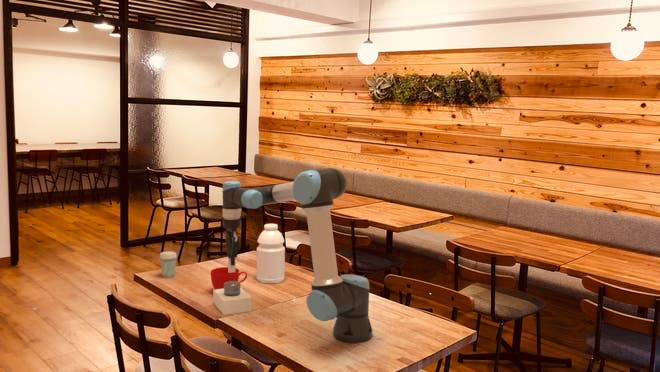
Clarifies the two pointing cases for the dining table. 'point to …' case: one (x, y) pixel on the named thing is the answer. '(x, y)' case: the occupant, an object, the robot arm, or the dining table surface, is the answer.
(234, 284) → the pin
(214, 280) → the ceramic cup
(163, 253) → the coffee cup
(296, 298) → the dining table surface
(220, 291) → the block
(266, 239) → the bottle
